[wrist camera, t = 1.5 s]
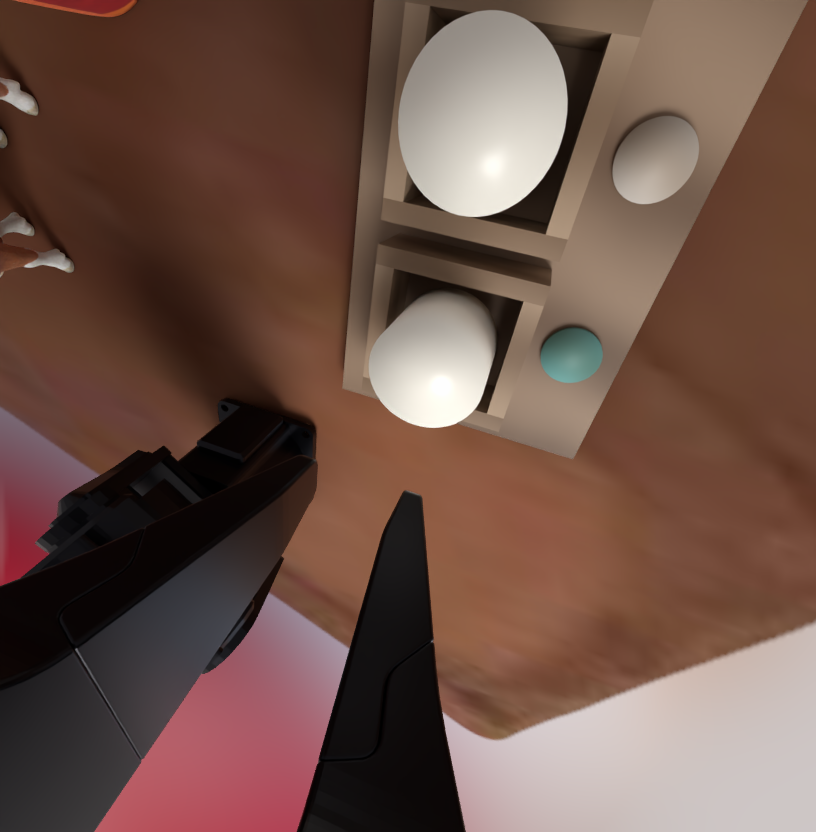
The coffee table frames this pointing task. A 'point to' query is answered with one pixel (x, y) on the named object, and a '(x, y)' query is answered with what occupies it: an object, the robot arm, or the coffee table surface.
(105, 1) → the paper cup
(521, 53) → the button mid
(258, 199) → the coffee table surface
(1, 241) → the bull figurine
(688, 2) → the board
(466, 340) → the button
